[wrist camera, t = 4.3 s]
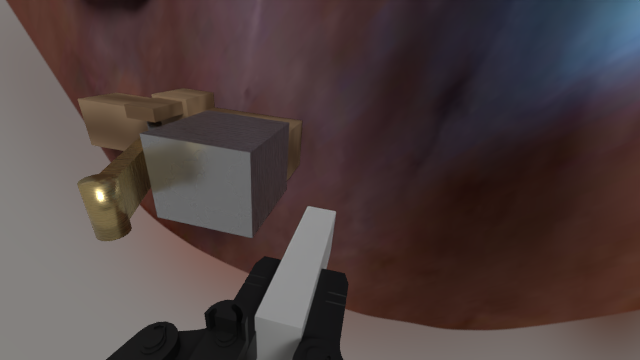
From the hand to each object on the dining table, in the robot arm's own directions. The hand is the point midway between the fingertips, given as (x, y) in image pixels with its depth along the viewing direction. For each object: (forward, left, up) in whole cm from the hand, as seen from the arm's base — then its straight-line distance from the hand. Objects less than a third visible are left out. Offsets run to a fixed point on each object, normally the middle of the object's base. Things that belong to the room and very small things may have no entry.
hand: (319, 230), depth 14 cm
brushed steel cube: (0, -8, -9) cm, 12 cm away
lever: (0, -15, -7) cm, 16 cm away
